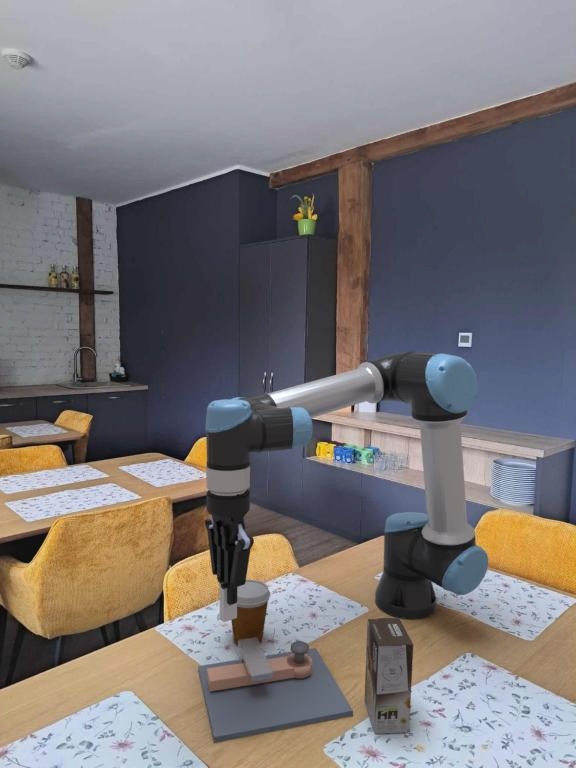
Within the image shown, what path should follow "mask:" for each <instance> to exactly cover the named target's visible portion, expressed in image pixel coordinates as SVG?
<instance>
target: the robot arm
mask: <svg viewBox="0 0 576 768" xmlns="http://www.w3.org/2000/svg"><path fill="white" fill-rule="evenodd" d="M478 385H479V384H478V378H477V375H476V372H475V370H474V368H473V367H472V365H471V364H470V363H469V362H467V360H466V359H464V358H462V357H461V356H458V355H452V354H449V353H444V352H443V353H437V352H436V353H435V352H420V351H419V352H416V351H404V352H397V353H393V354H389V355H385V356H383V357H378V358H375V359H373V360H368V361H365V362H362V363H360V364H359V366H358V367H357V368H356V369H351V370H349V371H345V372H341V373H337V374H335V375H332V376H331V375H330V376H326V377H323V378H320V379H316V380H313V381H309V382H305V383H302V384H298V385H295V386H291V387H286V388H284V389H280V390H277V391H272V392H268V393H265V394H261V395H258V396H253V397H249V398H248V397H245V396H241V397H239V396H238V397H234V398H231V399H218V400H213V401H211V402H209V404H208V406H207V408H206V410H207V411H206V416H205V417H206V419H205V428H204V429H205V434H206V436H205V437H206V441H205V442H206V464H205V465H206V468H205V472H206V474H205V476H206V480H205V481H206V484H205V485H206V489H207V492H206V511H207V513H208V514H209V515H210V516H211V518H207V519H205V520H204V524H205V528H206V532H207V540H208V547H209V548H208V549H209V558H210V566H211V572H212V575H213V576H215V575H216V580H217V582H218V584H219V585H218V587H219V594H218V596H219V620H220V621H222V623H226V622H229V621H231V620H232V619H235V618H237V587H239V586H242V585H245V582H246V580H247V574H248V569H249V568H248V567H249V562H250V555H251V549H252V548H253V546H254V543H255V540H254V537H253V536H248V535H247V533H246V532H245V531H246V524H245V523H246V522H245V519H244V517H245V516H246V514H248V513H249V511H250V509H251V491H250V489H249V488H250V485H251V479H250V478H251V475H250V474H251V473H250V472H251V457H252V456H251V455H252V454H260V453H266V452H268V453H269V452H276V451H285V450H287V451H288V450H290V451H292V450H294V449H299V448H304V447H306V446H307V445H308V444H309V443H310V441H311V439H312V437H313V425H314V424H313V421H312V419H313V418H316V417H319V416H323V415H326V414H329V413H332V412H336V411H339V410H343V409H345V408H348V407H349V408H350V407H352V406H355V405H358V404H362V403H365V402H367V403H369V404H377V403H380V402H386V401H387V402H388V401H391V402H393V401H394V402H401V403H406V404H410V409H411V411H410V412H411V418H412V420H413V421H415V422H416V423H417V424H418V425H419V433H420V443H421V444H420V445H421V457H422V468H423V479H424V480H423V481H424V493H425V504H426V505H425V507H426V513H423V512H418V511H417V512H416V511H415V512H413V511H408V512H407V511H405V512H395V513H394V514H391V515H388V517H387V518H386V520H385V527H384V531H383V532H384V535H383V536H384V539H383V570H382V574H381V576H380V579H379V581H378V584H377V587H376V589H375V594H374V596H375V597H374V602H375V604H376V606H377V608H378V609H380V610H381V611H383V612H384V613H386V614H388V615H389V616H392V617H395V618H399V619H400V618H401V619H406V620H408V619H409V620H417V619H419V620H420V619H425V618H428V617H430V616H432V615H433V614H434V613H435V612H436V611H437V595H436V592H435V588H434V586H433V585H434V584H436V585H437V586H439V588H440V587H441V588H442V589H443V590H444V591H447V592H451V593H453V594H455V595H458V596H464V595H468V594H470V593H472V592H474V590H475V591H476V589H477V588H478V587H479V586H480V585H481V583H482V581H483V579H484V578H485V576H486V574H487V570H488V567H489V556H488V553H487V551H486V550H485V549H484V548H483V547H481V546H479V545H477V543H476V532H475V531H476V530H475V529H474V527H473V526H472V525H471V524H469V523H468V515H467V499H466V487H465V474H464V473H465V472H464V457H463V444H462V443H463V441H462V428H461V427H462V426H461V423H462V421H463V420H464V419H465V418H466V417H468V410H469V409H471V407H472V406H473V405H474V403H475V398H477V395H478V391H479V389H478V388H479V386H478Z"/></svg>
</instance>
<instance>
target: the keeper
mask: <svg viewBox="0 0 576 768" xmlns="http://www.w3.org/2000/svg"><path fill="white" fill-rule="evenodd" d="M237 647H238V658H237V660H238V663H239V664H240V663H245V666H246V669H247V671H248V674H249V677H250V680H251V682H255V681H261V680H267V679H273V672H272V670H271V668H270V665H269V663H268V661H267V658H266V654H265V652H264V649H263V647H262V643H261V644H260V642H259V640H258V637H255V638H248V639H241V640H238V646H237Z"/></svg>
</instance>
